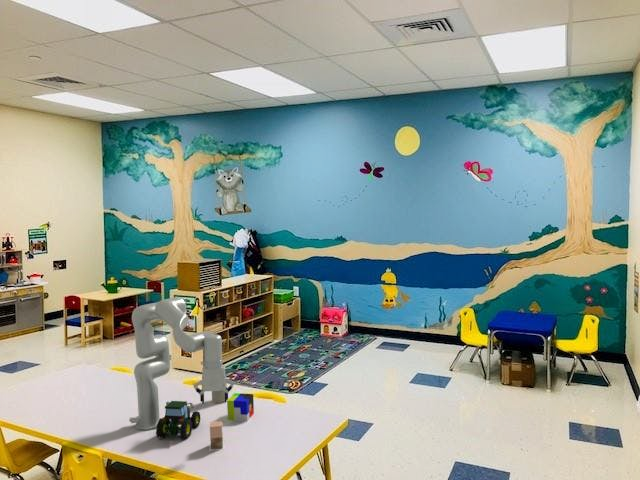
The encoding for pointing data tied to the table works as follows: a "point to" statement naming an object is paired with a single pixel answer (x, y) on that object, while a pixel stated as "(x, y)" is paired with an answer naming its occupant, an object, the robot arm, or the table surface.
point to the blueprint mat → (216, 449)
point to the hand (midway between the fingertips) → (214, 402)
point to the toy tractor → (177, 420)
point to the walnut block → (216, 443)
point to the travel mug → (218, 395)
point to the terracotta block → (215, 429)
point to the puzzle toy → (240, 407)
